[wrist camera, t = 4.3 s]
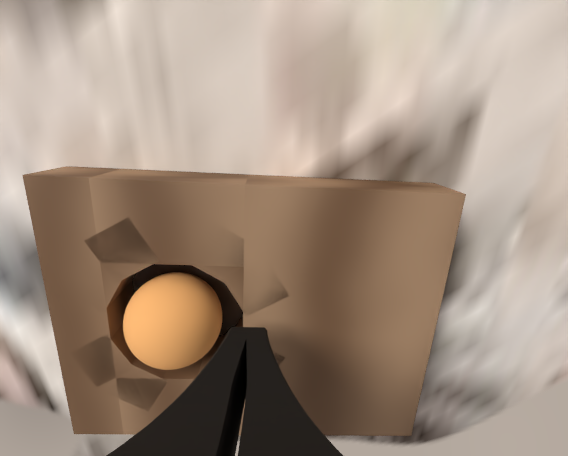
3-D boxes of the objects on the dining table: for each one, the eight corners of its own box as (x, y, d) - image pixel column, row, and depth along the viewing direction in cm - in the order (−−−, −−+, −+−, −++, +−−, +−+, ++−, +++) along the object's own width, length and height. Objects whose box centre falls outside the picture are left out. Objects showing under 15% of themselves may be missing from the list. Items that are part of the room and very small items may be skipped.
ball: (164, 282, 17) (238, 292, 16) (137, 365, 15) (220, 378, 14) (125, 253, 13) (219, 264, 13) (84, 357, 11) (191, 374, 11)
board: (433, 183, 14) (465, 194, 12) (392, 394, 18) (411, 435, 16) (66, 166, 13) (22, 175, 11) (101, 391, 17) (74, 433, 15)
